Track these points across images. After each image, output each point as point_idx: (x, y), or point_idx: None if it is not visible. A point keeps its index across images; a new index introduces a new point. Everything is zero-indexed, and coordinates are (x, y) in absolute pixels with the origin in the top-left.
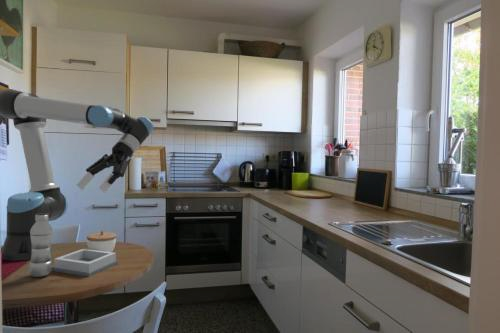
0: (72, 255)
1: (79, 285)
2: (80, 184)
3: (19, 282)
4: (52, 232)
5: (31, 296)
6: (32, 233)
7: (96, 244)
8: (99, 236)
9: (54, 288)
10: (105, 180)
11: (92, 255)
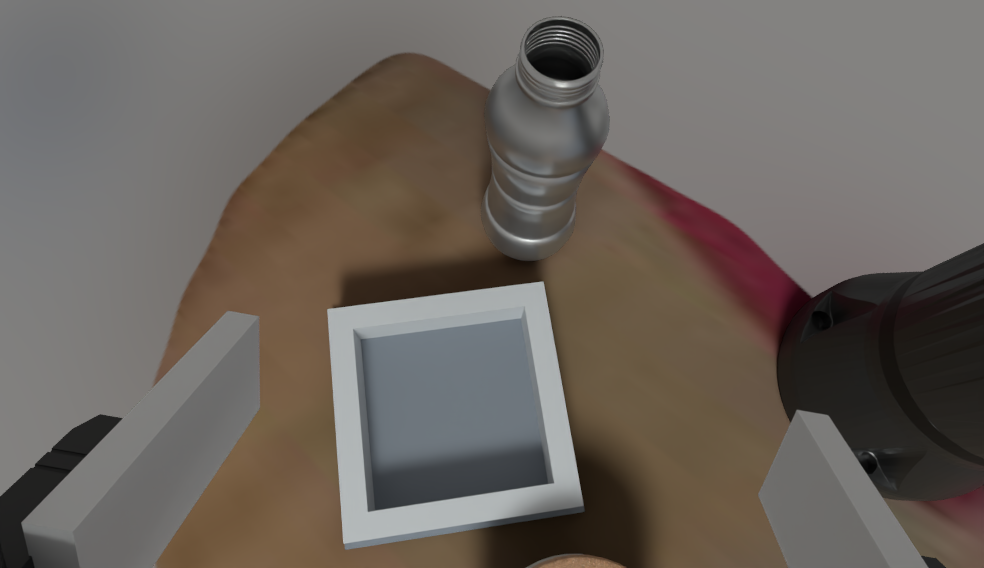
0: (536, 385)
1: (290, 228)
2: (799, 455)
3: None
4: (501, 157)
5: (362, 89)
6: (541, 67)
7: (533, 564)
8: None
9: (353, 166)
10: (168, 394)
11: (492, 492)
